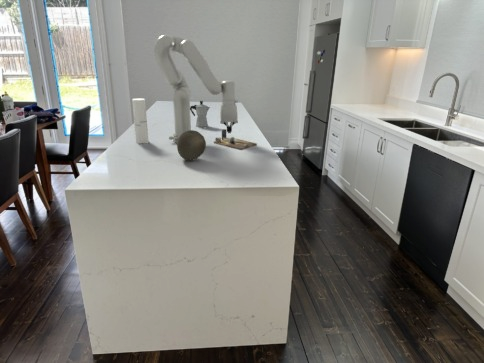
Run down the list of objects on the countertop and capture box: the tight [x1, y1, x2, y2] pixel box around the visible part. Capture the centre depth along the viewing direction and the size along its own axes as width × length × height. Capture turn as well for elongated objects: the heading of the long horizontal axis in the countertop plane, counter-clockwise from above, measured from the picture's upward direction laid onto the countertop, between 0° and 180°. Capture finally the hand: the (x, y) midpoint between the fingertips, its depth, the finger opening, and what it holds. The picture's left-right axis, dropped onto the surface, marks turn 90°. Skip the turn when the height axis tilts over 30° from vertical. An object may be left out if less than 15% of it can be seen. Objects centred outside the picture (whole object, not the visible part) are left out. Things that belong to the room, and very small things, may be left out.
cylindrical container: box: [131, 97, 149, 144], centre depth 198 cm, size 7×7×25 cm
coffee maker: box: [190, 100, 211, 129], centre depth 242 cm, size 15×9×18 cm, turn 84°
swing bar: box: [221, 128, 235, 143], centre depth 203 cm, size 12×3×6 cm, turn 36°
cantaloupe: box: [176, 129, 207, 162], centre depth 170 cm, size 14×14×15 cm
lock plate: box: [213, 136, 258, 151], centre depth 202 cm, size 15×21×3 cm
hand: (229, 132), depth 207 cm, fingers closed
